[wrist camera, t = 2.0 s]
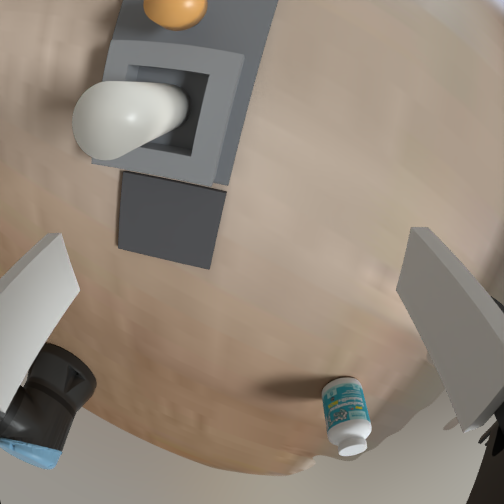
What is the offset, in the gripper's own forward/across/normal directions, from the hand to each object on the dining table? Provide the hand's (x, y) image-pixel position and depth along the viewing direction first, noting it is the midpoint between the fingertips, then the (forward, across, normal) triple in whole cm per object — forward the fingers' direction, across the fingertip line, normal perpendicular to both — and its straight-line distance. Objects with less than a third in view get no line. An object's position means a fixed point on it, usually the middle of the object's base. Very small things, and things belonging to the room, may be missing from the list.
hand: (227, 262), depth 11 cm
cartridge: (+22, -8, +5) cm, 24 cm away
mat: (+23, -10, -8) cm, 26 cm away
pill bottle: (+23, +15, -41) cm, 50 cm away
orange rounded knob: (+18, -5, +14) cm, 24 cm away
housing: (+23, -7, +9) cm, 26 cm away
